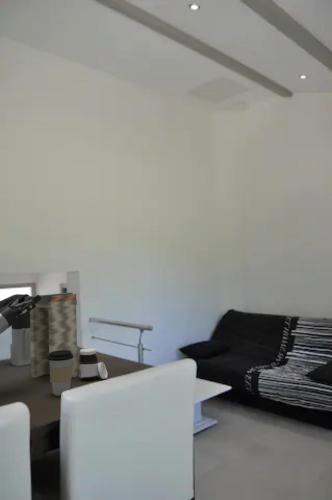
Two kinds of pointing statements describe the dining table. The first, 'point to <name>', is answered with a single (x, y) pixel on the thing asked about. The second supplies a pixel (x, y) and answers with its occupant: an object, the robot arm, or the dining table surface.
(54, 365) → the coffee cup
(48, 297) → the bar
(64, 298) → the wooden open box
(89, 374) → the spread jar
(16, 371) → the dining table surface
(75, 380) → the dining table surface
